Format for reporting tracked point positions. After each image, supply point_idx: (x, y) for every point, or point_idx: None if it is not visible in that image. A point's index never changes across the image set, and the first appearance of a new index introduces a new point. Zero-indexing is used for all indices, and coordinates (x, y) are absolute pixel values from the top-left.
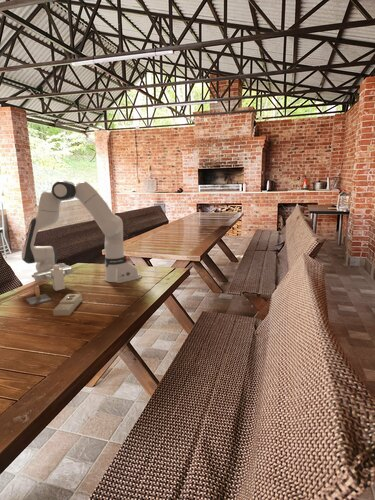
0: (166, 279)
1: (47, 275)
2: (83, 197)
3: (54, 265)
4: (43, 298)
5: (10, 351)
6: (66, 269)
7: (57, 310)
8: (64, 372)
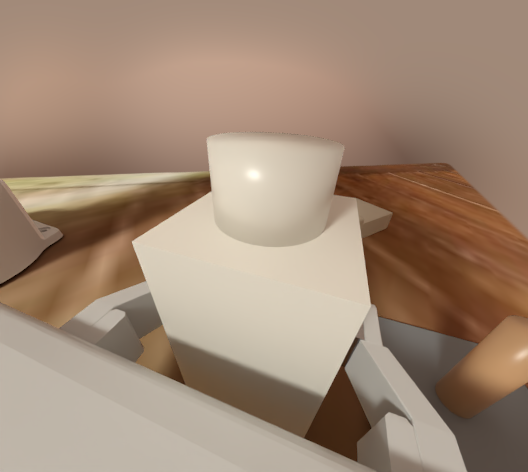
0: (54, 184)
1: (415, 397)
2: None
3: (281, 149)
4: (412, 366)
5: (479, 201)
6: (3, 307)
7: (380, 209)
8: (400, 168)
